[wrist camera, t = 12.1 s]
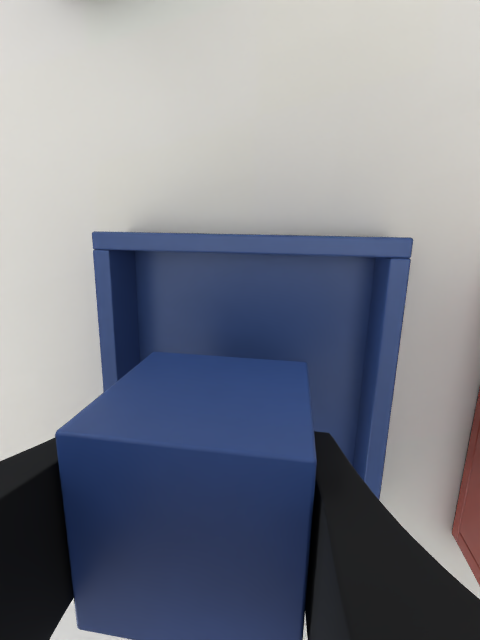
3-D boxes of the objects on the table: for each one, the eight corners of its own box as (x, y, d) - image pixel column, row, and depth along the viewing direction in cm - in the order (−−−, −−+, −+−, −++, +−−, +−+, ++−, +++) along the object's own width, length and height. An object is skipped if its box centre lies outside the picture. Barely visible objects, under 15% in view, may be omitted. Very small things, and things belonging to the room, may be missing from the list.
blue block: (298, 499, 11) (300, 673, 6) (158, 482, 11) (76, 630, 7) (307, 361, 10) (317, 460, 5) (153, 350, 10) (53, 432, 6)
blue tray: (360, 501, 15) (373, 551, 13) (138, 474, 17) (112, 514, 14) (391, 237, 13) (414, 237, 10) (125, 232, 14) (90, 231, 12)
